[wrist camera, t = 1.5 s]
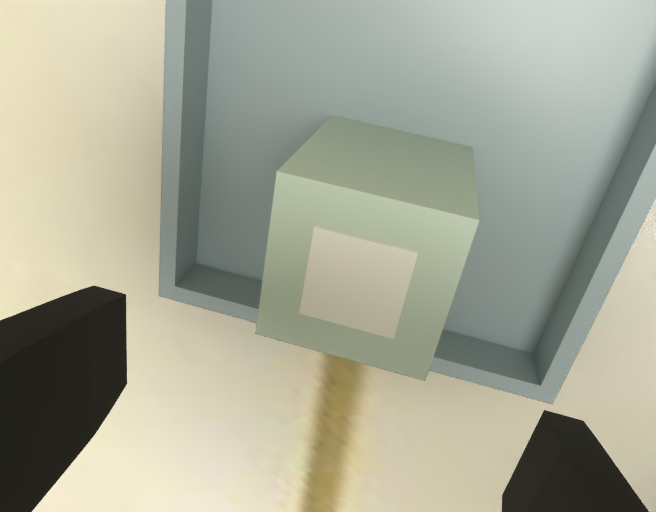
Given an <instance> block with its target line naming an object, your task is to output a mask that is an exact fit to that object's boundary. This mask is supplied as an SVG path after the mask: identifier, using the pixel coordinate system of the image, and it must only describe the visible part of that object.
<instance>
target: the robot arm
mask: <svg viewBox="0 0 656 512" xmlns="http://www.w3.org/2000/svg"><path fill="white" fill-rule="evenodd" d="M126 384H127V351H126V294H122V293H119V292H115V291H111V290H108V289H104V288H101V287H97V286H91V287H88V288H85V289H82V290H79V291H76V292H73V293H71V294H68V295H65V296H62V297H60V298H57V299H55V300H52V301H49V302H47V303H44V304H42V305H39V306H37V307H34V308H31V309H29V310H26V311H24V312H21V313H19V314H16V315H14V316H11V317H8V318H6V319H3V320H1V321H0V512H32V510H33V509H34V508H35V507H36V506H37V504H38V503H39V502H40V501H41V500H42V498H43V497H44V496H45V495H46V494H47V492H48V491H49V490H50V489H51V488H52V486H53V485H54V484H55V483H56V481H57V480H58V479H59V478H60V477H61V475H62V474H63V473H64V472H65V471H66V469H67V468H68V467H69V466H70V464H71V463H72V462H73V461H74V460H75V458H76V457H77V456H78V455H79V453H80V452H81V451H82V450H83V448H84V447H85V446H86V445H87V444H88V442H89V441H90V440H91V438H92V437H93V436H94V435H95V433H96V432H97V430H98V429H99V427H100V426H101V424H102V423H103V421H104V420H105V418H106V417H107V415H108V414H109V412H110V411H111V409H112V407H113V406H114V404H115V402H116V401H117V399H118V398H119V396H120V394H121V393H122V391H123V389H124V388H125V386H126ZM502 512H649V511H648V510H647V508H646V507H645V506H644V504H643V503H642V502H641V500H640V499H639V497H638V496H637V494H636V493H635V492H634V490H633V489H632V487H631V486H630V485H629V483H628V482H627V480H626V479H625V478H624V476H623V475H622V473H621V472H620V471H619V469H618V468H617V466H616V465H615V464H614V462H613V461H612V459H611V458H610V457H609V455H608V454H607V452H606V451H605V449H604V448H603V447H602V445H601V444H600V443H599V441H598V440H597V438H596V437H595V436H594V434H593V433H592V432H591V430H590V429H589V428H588V426H587V425H586V424H585V422H584V421H582V420H578V419H574V418H571V417H567V416H564V415H560V414H556V413H553V412H549V411H546V410H544V412H543V414H542V416H541V418H540V420H539V422H538V424H537V426H536V428H535V430H534V432H533V434H532V436H531V438H530V440H529V442H528V444H527V446H526V448H525V450H524V452H523V454H522V456H521V458H520V460H519V462H518V464H517V466H516V468H515V470H514V472H513V475H512V477H511V479H510V481H509V483H508V485H507V487H506V489H505V491H504V493H503V495H502Z"/></svg>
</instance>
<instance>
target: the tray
mask: <svg viewBox="0 0 656 512" xmlns="http://www.w3.org/2000/svg"><path fill="white" fill-rule="evenodd" d="M332 115H334V116H339V117H343V118H347V119H352V120H356V121H361V122H365V123H369V124H374V125H378V126H383V127H387V128H391V129H396V130H400V131H405V132H409V133H413V134H418V135H422V136H427V137H431V138H435V139H440V140H444V141H449V142H453V143H457V144H462V145H466V146H471V147H473V158H474V168H475V178H476V189H477V199H478V209H479V223H478V226H477V229H476V232H475V235H474V238H473V241H472V244H471V247H470V250H469V253H468V256H467V259H466V262H465V265H464V268H463V271H462V274H461V277H460V280H459V283H458V286H457V288H456V291H455V294H454V297H453V300H452V303H451V306H450V309H449V312H448V315H447V318H446V321H445V324H444V327H443V330H442V333H441V336H440V339H439V342H438V345H437V348H436V351H435V354H434V357H433V360H432V363H431V366H430V368H429V371H433V372H437V373H440V374H444V375H448V376H451V377H455V378H458V379H462V380H466V381H469V382H473V383H477V384H480V385H484V386H488V387H491V388H495V389H498V390H502V391H506V392H509V393H513V394H517V395H520V396H524V397H527V398H531V399H535V400H538V401H542V402H546V403H549V404H553V402H554V400H555V398H556V396H557V394H558V392H559V390H560V388H561V386H562V384H563V382H564V380H565V378H566V376H567V374H568V372H569V370H570V368H571V366H572V364H573V362H574V360H575V358H576V356H577V354H578V352H579V350H580V348H581V346H582V344H583V342H584V340H585V338H586V336H587V334H588V332H589V330H590V328H591V326H592V324H593V322H594V320H595V318H596V316H597V314H598V312H599V310H600V308H601V306H602V304H603V302H604V300H605V298H606V296H607V294H608V292H609V290H610V288H611V286H612V284H613V282H614V280H615V278H616V276H617V274H618V272H619V270H620V268H621V266H622V264H623V262H624V260H625V258H626V256H627V254H628V252H629V250H630V248H631V246H632V244H633V242H634V240H635V238H636V236H637V234H638V232H639V230H640V228H641V226H642V224H643V222H644V220H645V218H646V216H647V214H648V212H649V210H650V208H651V206H652V204H653V202H654V200H655V198H656V0H166V15H165V57H164V99H163V141H162V183H161V225H160V267H159V296H161V297H164V298H168V299H172V300H175V301H179V302H182V303H186V304H190V305H193V306H197V307H201V308H204V309H208V310H211V311H215V312H219V313H222V314H226V315H230V316H233V317H237V318H241V319H244V320H248V321H251V322H255V323H257V318H258V310H259V303H260V295H261V287H262V280H263V272H264V265H265V257H266V249H267V242H268V234H269V227H270V219H271V212H272V204H273V196H274V189H275V181H276V174H277V171H278V170H279V169H280V167H281V166H282V165H283V164H284V163H285V162H286V161H287V160H288V159H289V158H290V157H291V156H292V155H293V154H294V153H295V152H296V151H297V150H298V149H299V148H300V147H301V146H302V145H303V144H304V143H305V142H306V141H307V140H308V139H309V138H310V137H311V136H312V135H313V134H314V133H315V132H316V131H317V130H318V129H319V128H320V127H321V126H322V125H323V124H324V123H325V122H326V121H327V120H328V119H329V118H330V117H331V116H332Z"/></svg>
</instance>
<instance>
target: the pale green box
mask: <svg viewBox="0 0 656 512" xmlns="http://www.w3.org/2000/svg"><path fill="white" fill-rule="evenodd" d="M478 223H479V209H478V199H477V189H476V178H475V168H474V158H473V147H471V146H466V145H462V144H457V143H453V142H449V141H444V140H440V139H435V138H431V137H427V136H422V135H418V134H413V133H409V132H405V131H400V130H396V129H391V128H387V127H383V126H378V125H374V124H369V123H365V122H361V121H356V120H352V119H347V118H343V117H339V116H334V115H332V116H331V117H330V118H329V119H328V120H327V121H326V122H325V123H324V124H323V125H322V126H321V127H320V128H319V129H318V130H317V131H316V132H315V133H314V134H313V135H312V136H311V137H310V138H309V139H308V140H307V141H306V142H305V143H304V144H303V145H302V146H301V147H300V148H299V149H298V150H297V151H296V152H295V153H294V154H293V155H292V156H291V157H290V158H289V159H288V160H287V161H286V162H285V163H284V164H283V165H282V166H281V167H280V169H279V170H278V171H277V174H276V181H275V189H274V196H273V204H272V212H271V219H270V227H269V234H268V242H267V249H266V257H265V265H264V272H263V280H262V287H261V295H260V303H259V310H258V318H257V325H256V333H255V334H258V335H262V336H265V337H269V338H273V339H276V340H280V341H283V342H287V343H291V344H294V345H298V346H301V347H305V348H309V349H312V350H316V351H319V352H323V353H327V354H330V355H334V356H337V357H341V358H345V359H348V360H352V361H355V362H359V363H363V364H366V365H370V366H373V367H377V368H381V369H384V370H388V371H391V372H395V373H399V374H402V375H406V376H409V377H413V378H417V379H420V380H424V381H425V380H426V377H427V374H428V371H429V368H430V366H431V363H432V360H433V357H434V354H435V351H436V348H437V345H438V342H439V339H440V336H441V333H442V330H443V327H444V324H445V321H446V318H447V315H448V312H449V309H450V306H451V303H452V300H453V297H454V294H455V291H456V288H457V286H458V283H459V280H460V277H461V274H462V271H463V268H464V265H465V262H466V259H467V256H468V253H469V250H470V247H471V244H472V241H473V238H474V235H475V232H476V229H477V226H478Z"/></svg>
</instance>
